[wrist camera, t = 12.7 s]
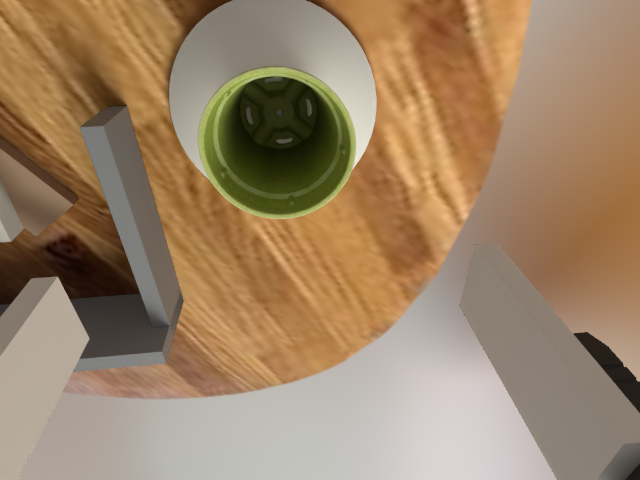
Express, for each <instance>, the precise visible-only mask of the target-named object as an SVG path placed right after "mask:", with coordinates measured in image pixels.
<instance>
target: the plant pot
mask: <svg viewBox="0 0 640 480" xmlns="http://www.w3.org/2000/svg"><path fill="white" fill-rule="evenodd" d="M274 77H281V78H282V79H283V81H282V82H271V83H268V84H266V83H265V80H266V79H272V78H274ZM306 98H307V99H309V101H310V103H311V107H312V113H311V116H308V115H307V104H306ZM247 107H250V108H251V117H252V120H253V125H252V124H250V123H249V122H248V120H247V115H246V109H247ZM277 110H282V112H283V114H282V115H281V116H278V115H276V111H277ZM289 138H293V139H292V141H291V142H288V143H283V144H281V143H278V142H277V141H276V140H278V139H289ZM198 149H199V155H200V159H201V162H202V165H203V167H204V170H205V172H206V174H207V176H208V178H209V180H210V181H211V183H212V184H213V185H214V187H215V188H216V189H217V190H218V191H219V193H220V194H221V195H222V196H223V197H224V198H226V199H227V200H228V201H229V202H231V203H232V204H234V205H235V206H236V207H238V208H239V209H241V210H244V211H246V212H248V213H250V214H253V215H256V216H260V217H265V218H272V219H287V218H294V217H299V216H303V215H306V214H309V213H311V212H313V211H315V210H317V209H319V208H321V207H322V206H324V205H325V204H327V203H328V202H329V201H330V200H331V199H332V198H334V197H335V196H336V195H337V193H338V192H339V191H340V190H341V189H342V187H343V186H344V184H345V183H346V181H347V180H348V178H349V176H350V174H351V171H352V168H353V165H354V161H355V155H356V135H355V130H354V126H353V122H352V119H351V117H350V115H349V112H348V110H347V109H346V107H345V105H344V104H343V102H342V101H341V99H340V98H339V97H338V96H337V94H336V93H335V92H334V91H333V90H332V89H331V88H330V87H329V86H327V85H326V84H325V83H324V82H322V81H321V80H320V79H318V78H316V77H314V76H313V75H311V74H309V73H307V72H304V71H301V70H298V69H295V68H290V67H284V66H266V67H260V68H255V69H251V70H248V71H245V72H243V73H241V74H239V75H237V76H235V77H233V78H232V79H230V80H229V81H227V82H226V83H225V84H223V85H222V86H221V87H220V88H219V89H218V90H217V91H216V92H215V94H214V95H213V96H212V97H211V99H210V100H209V102H208V104H207V105H206V107H205V109H204V111H203V114H202V117H201V120H200V123H199V129H198Z"/></svg>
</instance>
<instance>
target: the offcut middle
mask: <svg viewBox="0 0 640 480" xmlns="http://www.w3.org/2000/svg"><path fill="white" fill-rule="evenodd" d="M23 229H24V228H23V226H22V224H21V221H20V219H19V217H18V215H17V213H16V211H15V208H14V206H13V204H12V202H11V200H10V198H9V195H8V193H7V191H6V189H5V187H4V185H3V182H2V180H1V178H0V242H11V241H12V240H13V239H14V238H15V237H16V236H17V235H18V234H19V233H20V232H21V231H22V230H23Z"/></svg>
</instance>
